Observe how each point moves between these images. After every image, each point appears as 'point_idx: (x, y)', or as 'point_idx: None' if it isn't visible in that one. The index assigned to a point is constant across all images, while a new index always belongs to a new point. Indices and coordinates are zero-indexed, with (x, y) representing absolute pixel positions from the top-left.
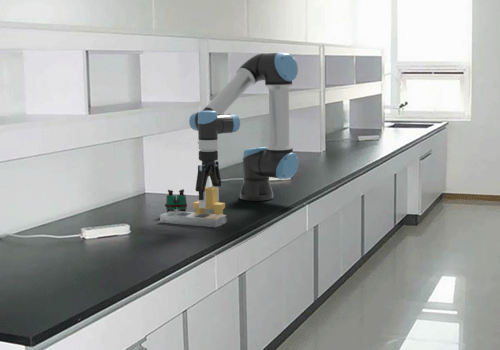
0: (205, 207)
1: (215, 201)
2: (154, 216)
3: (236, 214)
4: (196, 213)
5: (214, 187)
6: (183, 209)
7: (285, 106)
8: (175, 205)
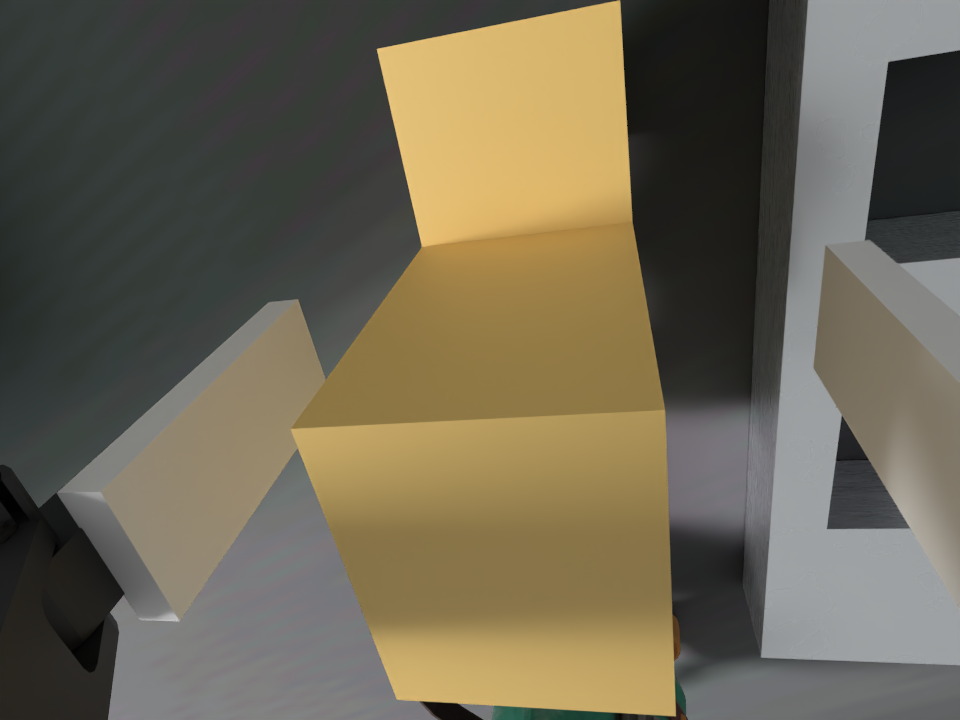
0: (853, 248)
1: (481, 250)
2: (736, 706)
3: (167, 23)
4: None
5: (322, 491)
6: None
7: None
8: None
